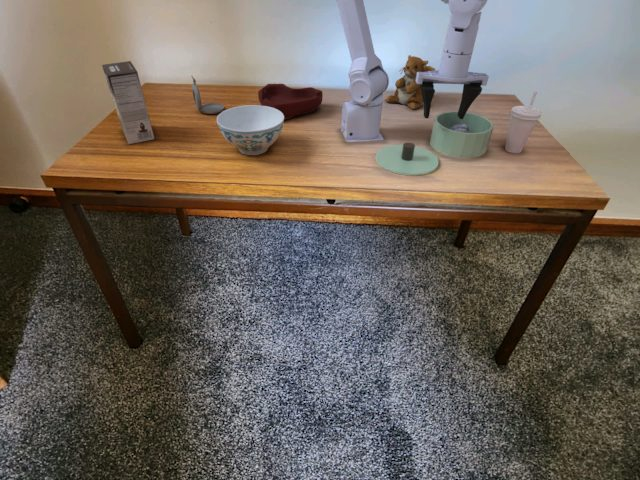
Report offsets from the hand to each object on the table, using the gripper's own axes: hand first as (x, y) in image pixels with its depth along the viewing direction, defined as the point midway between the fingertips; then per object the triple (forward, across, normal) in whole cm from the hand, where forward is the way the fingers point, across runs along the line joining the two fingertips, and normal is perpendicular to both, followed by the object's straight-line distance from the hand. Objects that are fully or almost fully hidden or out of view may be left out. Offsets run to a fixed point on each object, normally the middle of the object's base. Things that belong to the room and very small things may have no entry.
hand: (443, 117), depth 88 cm
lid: (+8, +8, +5) cm, 12 cm away
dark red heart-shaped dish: (+9, +37, -24) cm, 45 cm away
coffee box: (+9, +72, -7) cm, 73 cm away
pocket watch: (+9, +59, -23) cm, 64 cm away
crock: (+9, -6, -4) cm, 11 cm away
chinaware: (+9, +43, -1) cm, 44 cm away
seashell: (+9, -6, -4) cm, 12 cm away
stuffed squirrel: (+9, 0, -34) cm, 35 cm away
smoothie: (+9, -20, -3) cm, 22 cm away
